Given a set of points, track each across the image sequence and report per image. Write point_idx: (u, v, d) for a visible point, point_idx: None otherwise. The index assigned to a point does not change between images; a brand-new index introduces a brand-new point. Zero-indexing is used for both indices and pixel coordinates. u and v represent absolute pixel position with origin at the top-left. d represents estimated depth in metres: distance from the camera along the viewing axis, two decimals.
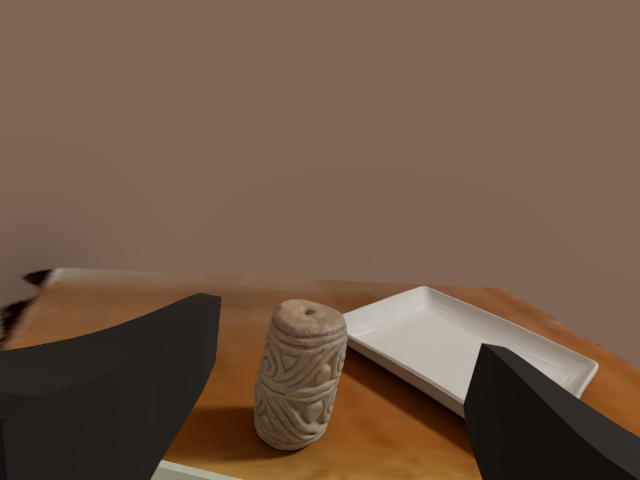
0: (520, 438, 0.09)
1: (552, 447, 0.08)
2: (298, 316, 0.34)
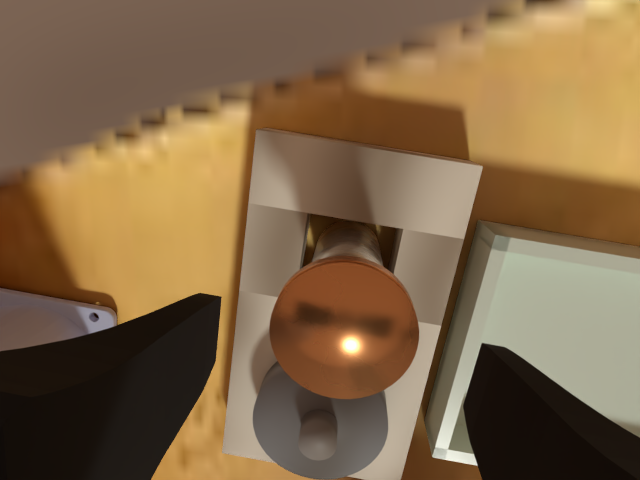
0: (520, 439, 0.09)
1: (552, 447, 0.08)
2: None
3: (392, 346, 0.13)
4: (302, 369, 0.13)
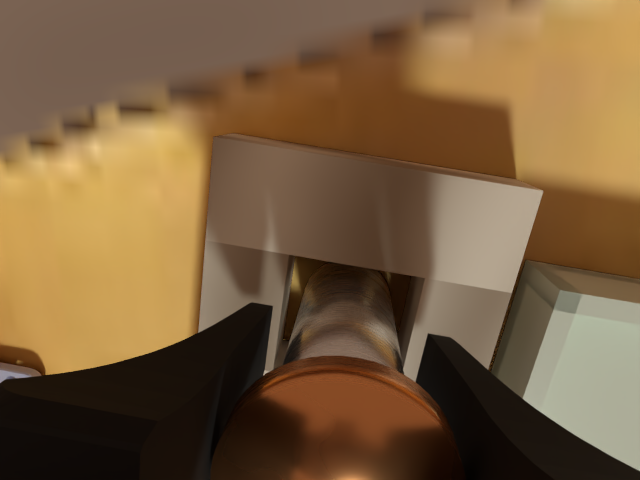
0: (450, 425, 0.09)
1: (472, 432, 0.08)
2: None
3: None
4: None
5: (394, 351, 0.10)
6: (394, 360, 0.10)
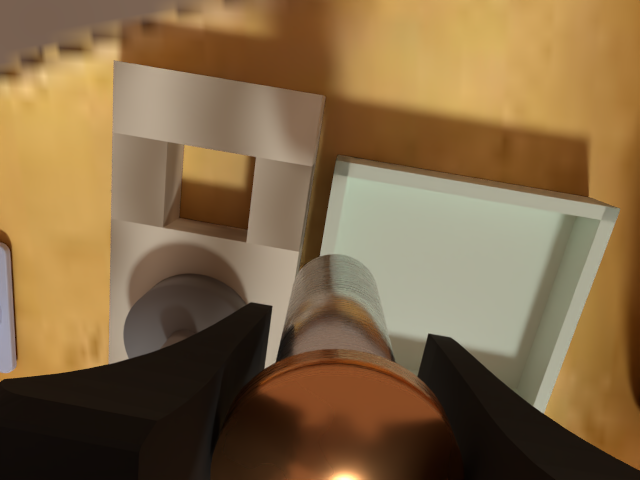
0: (451, 426, 0.09)
1: (473, 432, 0.08)
2: None
3: None
4: None
5: (386, 343, 0.10)
6: (387, 352, 0.10)
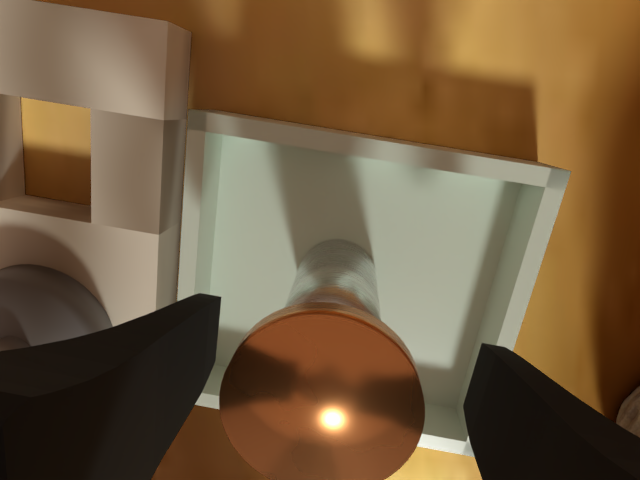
0: (520, 438, 0.09)
1: (552, 447, 0.08)
2: None
3: (387, 427, 0.09)
4: (266, 455, 0.10)
5: (373, 309, 0.12)
6: (372, 315, 0.12)
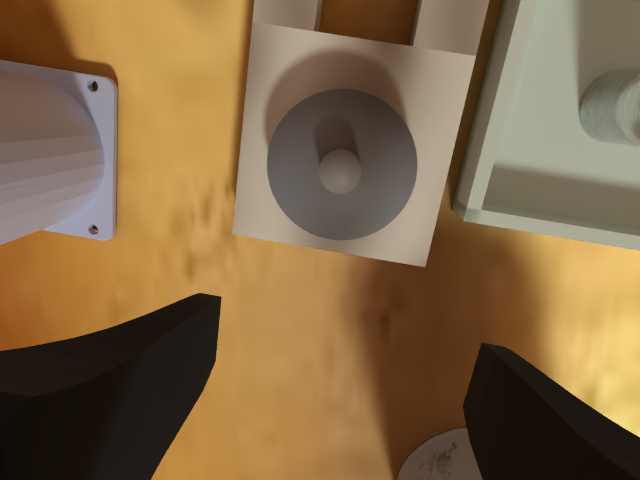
0: (520, 438, 0.09)
1: (552, 447, 0.08)
2: None
3: None
4: None
5: None
6: None
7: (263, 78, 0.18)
